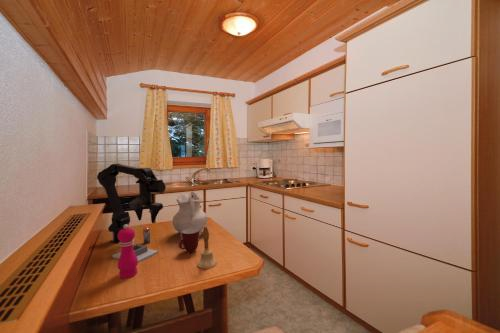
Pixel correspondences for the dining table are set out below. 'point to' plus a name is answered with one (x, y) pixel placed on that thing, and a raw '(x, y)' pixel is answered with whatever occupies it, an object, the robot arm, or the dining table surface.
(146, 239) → the pin
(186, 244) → the mug
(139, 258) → the grey plate with socket
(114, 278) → the dining table surface
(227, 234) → the dining table surface
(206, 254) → the hand bell
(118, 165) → the robot arm
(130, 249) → the pepper mill
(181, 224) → the ceramic pitcher
